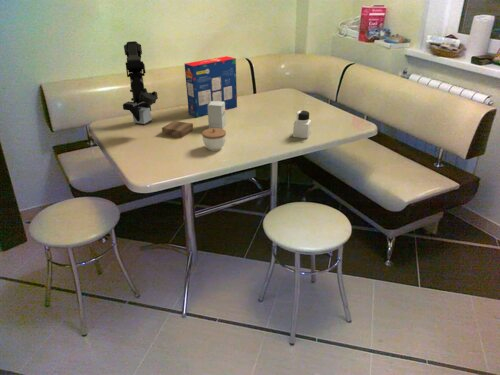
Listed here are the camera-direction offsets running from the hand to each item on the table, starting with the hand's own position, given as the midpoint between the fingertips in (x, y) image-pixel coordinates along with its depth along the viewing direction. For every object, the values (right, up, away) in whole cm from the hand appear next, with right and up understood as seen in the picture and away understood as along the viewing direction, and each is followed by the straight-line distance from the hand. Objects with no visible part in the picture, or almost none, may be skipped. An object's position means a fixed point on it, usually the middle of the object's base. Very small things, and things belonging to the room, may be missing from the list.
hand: (142, 119), depth 199 cm
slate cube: (0, -1, +1) cm, 1 cm away
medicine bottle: (+77, -8, +3) cm, 78 cm away
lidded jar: (+36, -15, -9) cm, 40 cm away
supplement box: (+35, -2, +14) cm, 38 cm away
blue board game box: (+31, +11, +37) cm, 50 cm away
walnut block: (+16, -6, +8) cm, 19 cm away
